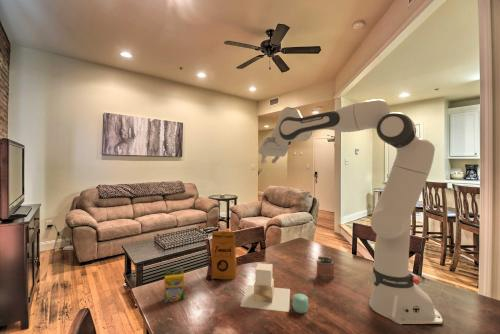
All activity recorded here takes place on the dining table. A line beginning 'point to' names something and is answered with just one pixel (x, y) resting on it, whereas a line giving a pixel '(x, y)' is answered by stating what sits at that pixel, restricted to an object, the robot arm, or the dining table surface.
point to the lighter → (325, 268)
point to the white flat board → (278, 304)
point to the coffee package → (223, 255)
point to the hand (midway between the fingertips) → (268, 162)
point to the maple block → (264, 292)
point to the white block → (264, 274)
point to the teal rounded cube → (300, 303)
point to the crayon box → (174, 285)
